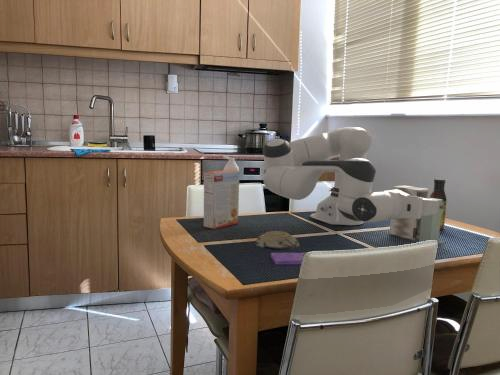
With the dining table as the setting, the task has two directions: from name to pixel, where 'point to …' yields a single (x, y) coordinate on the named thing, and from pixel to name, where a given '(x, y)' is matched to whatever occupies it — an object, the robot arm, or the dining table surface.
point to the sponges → (287, 258)
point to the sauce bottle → (440, 197)
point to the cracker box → (221, 198)
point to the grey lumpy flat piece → (277, 240)
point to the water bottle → (230, 164)
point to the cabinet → (409, 226)
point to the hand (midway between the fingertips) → (416, 199)
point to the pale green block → (431, 224)
